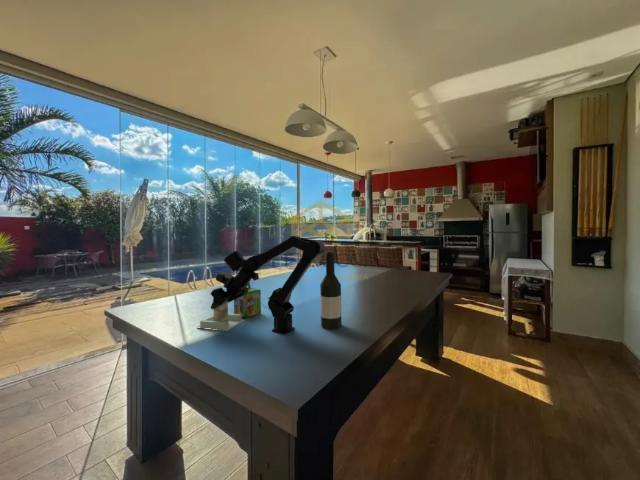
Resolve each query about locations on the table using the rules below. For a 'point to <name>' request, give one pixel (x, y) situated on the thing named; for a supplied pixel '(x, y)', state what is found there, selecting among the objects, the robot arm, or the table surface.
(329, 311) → the wine bottle
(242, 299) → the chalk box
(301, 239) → the robot arm
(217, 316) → the post
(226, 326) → the tray
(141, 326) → the table surface
